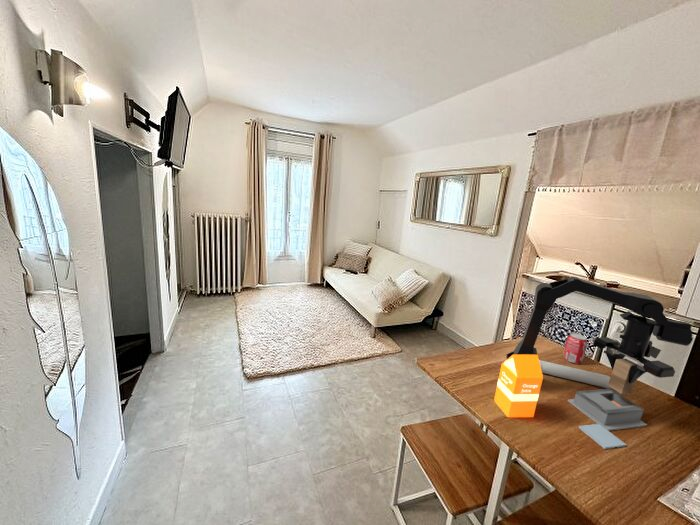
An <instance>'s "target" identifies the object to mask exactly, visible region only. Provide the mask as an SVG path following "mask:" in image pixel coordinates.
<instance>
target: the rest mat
mask: <svg viewBox="0 0 700 525" xmlns="http://www.w3.org/2000/svg"><path fill="white" fill-rule="evenodd" d="M578 429H579V430H580V431H582V432H583V433H584V434H586V435H587V436H588V437H589V438H591V439H592V441H594V442H595V443H596V444H597V445H599V446H600V447H601V448H602V449H604V450H608V449H615V447H617V448H624V447H626V446H627V443H625V442H624V441H623V440H621V439H620V438H618V436H616V435H614V434H613V433H612V432H610V431H608V430H607V429H605V428H604V427H603V426H601V425H600V424H597V423H595V424H594V423H593V424H584V425H578Z"/></svg>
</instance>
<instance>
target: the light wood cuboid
mask: <svg viewBox="0 0 700 525" xmlns="http://www.w3.org/2000/svg"><path fill="white" fill-rule="evenodd" d="M637 364H638V363H635V361H634V362H633V361H631V359H628V358H623V359H616V361H615V364H614V368H613V371H611V373H610V374H611V375H610V376H609V377H610V380H609V384H608V386H609V387H610V388H609V389H612V390H613V391H615V392H617V393H618V394H620V395H625V394H626V395H627V394H631V393H632V391H633V388H634V387H635V386H634V385H635V382H636V381H634V382H633V383H631V384H630V383H629V375H630V370H631V365H637Z"/></svg>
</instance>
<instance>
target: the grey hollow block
mask: <svg viewBox="0 0 700 525" xmlns="http://www.w3.org/2000/svg"><path fill="white" fill-rule="evenodd" d="M611 401H615V402H616V403H618V404H619V405H621V407H619V406H617V405H616V404H614V403H613V402H611ZM567 402H568V403H570V404H571V405H572V406H574V407H575V408H576V409H578V410H579V411H580V412H581V413H583V414H584V415H585V416H587V417H588V418H589V419H590V420H592V421H593V422H595V424H600V425H601V426H603V427H604V428H605V429H607V430H608V431H609V432H610V431H612V432H613V431H618V430H620V431H621V430H626V429H628V430H629V429H634V428H643V427H647V426H648V424H647V423H645V421H642V420H641V419H642V416H643V413H644V410H645V409H644V408H642V407H641V406H639V405H638V404H636V403H634V402H633V401H631V400H629V399H628V398H626V397H625V396H623V395H622V394H620V393H619V392H617V391H615V390H614V389H612V388H609V389H607V388H600V389H598V388H597V389H589V390H579V391H576V392H575V396H574V398H569V399H567Z"/></svg>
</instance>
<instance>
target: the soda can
mask: <svg viewBox="0 0 700 525" xmlns="http://www.w3.org/2000/svg"><path fill="white" fill-rule="evenodd" d="M587 346H588V341H587V336H584V335H583V334H580V333H576V332H575V333H574V332H573V333H569V335H568V336H567V338H566V341H565V343H564V348H563V351H562V357H563V358H564V360H565V361H567V362H569V363H571V364H576V365H578V364H581V363H582V362H583V360H584V357H585V354H586V349H587V348H588V347H587Z"/></svg>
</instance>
